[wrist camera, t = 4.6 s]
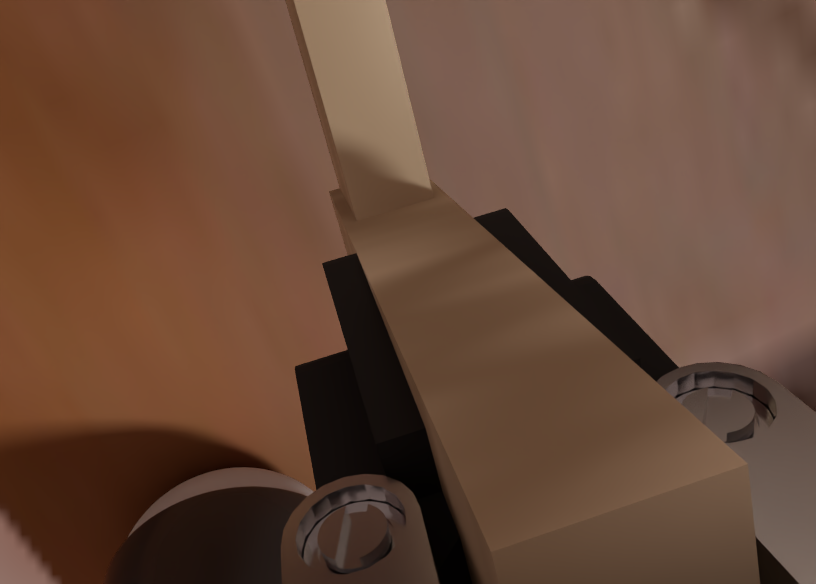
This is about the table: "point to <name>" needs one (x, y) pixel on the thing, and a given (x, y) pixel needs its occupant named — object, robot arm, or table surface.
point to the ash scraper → (513, 362)
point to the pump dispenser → (212, 531)
